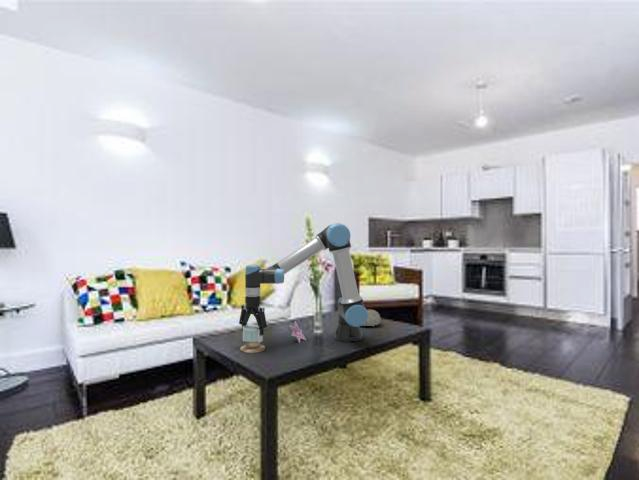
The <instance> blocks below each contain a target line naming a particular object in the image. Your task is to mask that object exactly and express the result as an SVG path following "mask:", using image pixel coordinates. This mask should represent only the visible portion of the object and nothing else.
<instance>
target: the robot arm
mask: <svg viewBox="0 0 639 480" xmlns="http://www.w3.org/2000/svg"><path fill="white" fill-rule="evenodd" d="M351 248H352V245H351V231H350V229H349V228H348V226H347V225H345V224H343V223H339V222H337V223H333V224H330V225H328V226H327V227H325V228H324V229H323V230H321V231H320V232H318V233H317V234H316V235H315V237H314V238H313V239H312V240H310V241H309V242H307V243H306V244H304V245H302V246H301V247H299V248H298V249H296V250H295V251H293V252H291V253H290V254H288V255H287V256H285V257H284V258H282V259H281V260H278V261H277V262H276V263H275V264H272V265H271V266H268V267H267V268H262V267H261V265H260V264H247V265H246V266H245V272H244V273H245V275H244V276H245V279H244V281H245V288H244V289H245V290H244V292H245V297H244V298H245V300H244V302H245V304H244V305H243V304H242V305H241V307H240V309H241V312H240V318H239V321H238V324H239V325H241V328H242V329H241V330H242V331H241V332H242V333H243V330H244V327H245V326H248V325H249V324H248V322H249V319H250V317H251V315H253V317H254V319H255V320H256V323H257V324H256V325H258V326H259V329H258V342H260V343H261V342H262V343H263V339H264V337H263V336H264V334H265V333H264V329H266V328H268V325H267V320H266V314H265V309H266V308H265V307H261V306H260V304H261V284H264V285H266V284H273V285H275V284H276V285H279V284H284V282H285V275H286V274H287V273H289V272H290V271H291V270H293V269H295V268H296V267H298V266H299V265H301V264H303V263H305V262H306V261H307V260H309V259H310V258H312V257H314V256H315V255H317V254H318V253H320V252H321V251H326V250H328V251H329V253H331V254H332V257H333V261H334V266H335V270H336V275H337V280H338V283H339V288H340V292H341V297H339V298H338V301H337V315H338V316H337V322H338V323H337V327H336V330H335V333H334V339H335V340H337V341H340V342H343V341H344V342H345V343H346V342H347V343H351V341H356V342H360V341H362V340H363V333H362V330H361V327H363V326H362V325H363V324H364V323H365V322H366V321H367V318H368V312H367V310H366V309H367V308H366V307H365V305H364V299H363V297H362V296H361V295H360V294H359V291H358V290H359V289H358V285H357V281H356V277H355V272H354V267H353V263H352V258H351V253H350V249H351ZM361 339H362V340H361ZM359 340H360V341H359ZM344 342H343V343H344Z"/></svg>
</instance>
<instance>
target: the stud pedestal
mask: <svg viewBox="0 0 639 480" xmlns="http://www.w3.org/2000/svg"><path fill="white" fill-rule="evenodd" d="M265 349H266V346H265V345H263V344H261V342H258V341H255V342H247V341H246V342H245V344H244V345H242V346H240V351H241V352H242V353H248V354H254V353H255V354H256V353H260V352H263V351H265Z"/></svg>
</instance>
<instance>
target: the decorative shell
mask: <svg viewBox="0 0 639 480" xmlns="http://www.w3.org/2000/svg"><path fill="white" fill-rule="evenodd" d="M366 310H367V312H368V318H367V321H366V322H365V323H364V324H363V325H362V326H361V327H363V326H364V327H365V326H372V327H375V325H376V326H379V324H380V323H381V320H382V319H381V315H380V313H379V312H378V311H376V310H375V309H371V308H370V309H369V308H368V309H367V308H366Z"/></svg>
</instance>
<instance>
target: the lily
mask: <svg viewBox="0 0 639 480" xmlns="http://www.w3.org/2000/svg"><path fill="white" fill-rule="evenodd" d="M288 326H289V328H290V329H291V331H292V333H291V337H290V338H289V341H291V340H292V338H293V337H296V339H297V341H298V343H299V344H300V343H301V340H304V341H307V339H306V336H305V335H304V334H303V329H302V328H299V325H298V323H297V322H296V320H295V321H294V325H291V324H289V325H288Z"/></svg>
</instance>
